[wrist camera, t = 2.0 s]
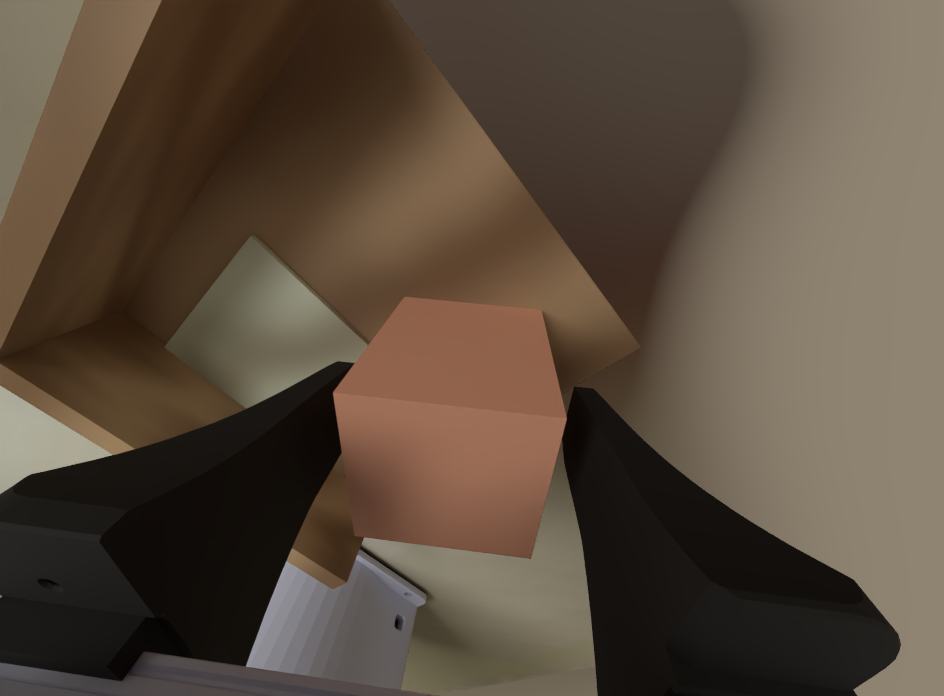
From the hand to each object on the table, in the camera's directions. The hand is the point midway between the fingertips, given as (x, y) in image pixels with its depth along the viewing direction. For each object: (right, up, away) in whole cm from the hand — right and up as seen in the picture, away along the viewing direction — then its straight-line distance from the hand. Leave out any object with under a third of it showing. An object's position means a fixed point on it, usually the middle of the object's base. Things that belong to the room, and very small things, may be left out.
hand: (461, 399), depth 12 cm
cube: (0, +1, +2) cm, 3 cm away
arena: (-4, +3, +3) cm, 6 cm away
